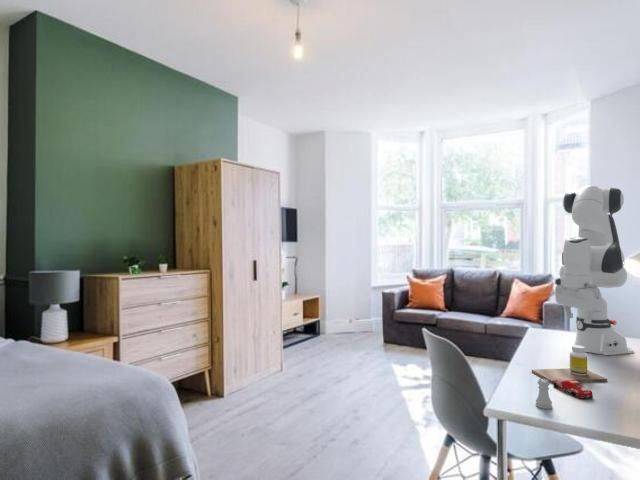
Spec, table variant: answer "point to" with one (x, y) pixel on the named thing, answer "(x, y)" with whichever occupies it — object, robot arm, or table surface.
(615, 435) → the table surface
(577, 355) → the supplement bottle
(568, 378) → the walnut board
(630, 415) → the table surface
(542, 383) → the rook chess piece
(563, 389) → the race car
